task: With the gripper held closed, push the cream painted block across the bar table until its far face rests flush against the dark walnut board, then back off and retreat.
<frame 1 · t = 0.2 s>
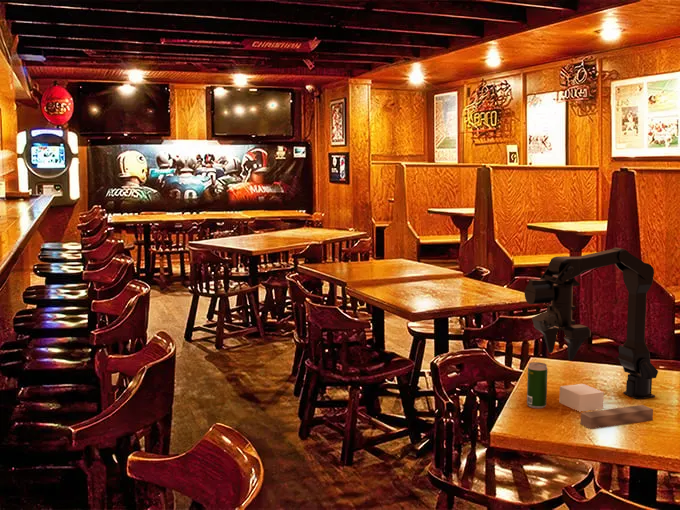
hand: (560, 356, 217), 14 cm above the table, fingers open, 9 cm apart
beer can: (536, 406, 217), on the table
board: (616, 422, 203), on the table
block: (580, 406, 217), on the table
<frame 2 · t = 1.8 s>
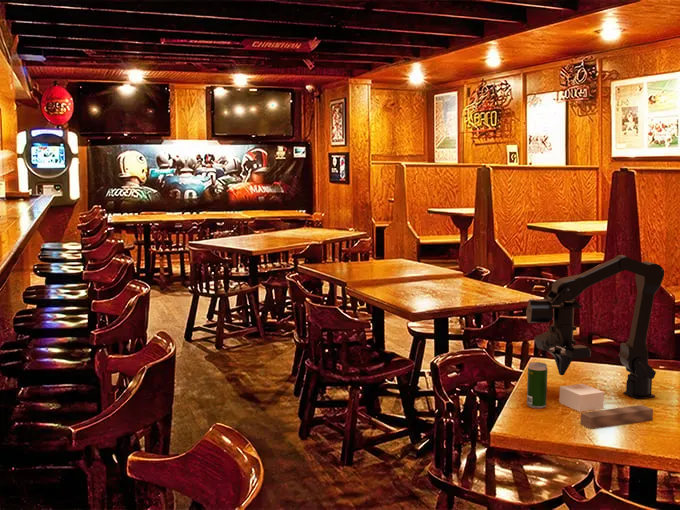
hand: (561, 374, 225), 6 cm above the table, fingers closed
nothing on the table moved.
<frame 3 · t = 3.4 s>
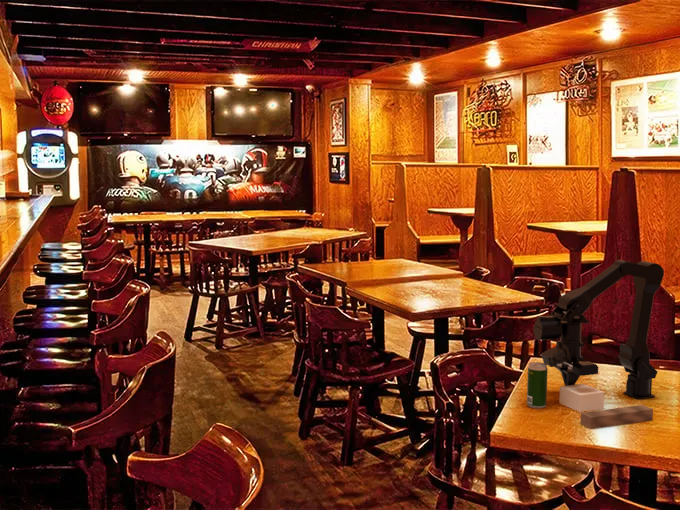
hand: (568, 391, 222), 2 cm above the table, fingers closed
block: (581, 406, 217), on the table, touching gripper
everything else where it was.
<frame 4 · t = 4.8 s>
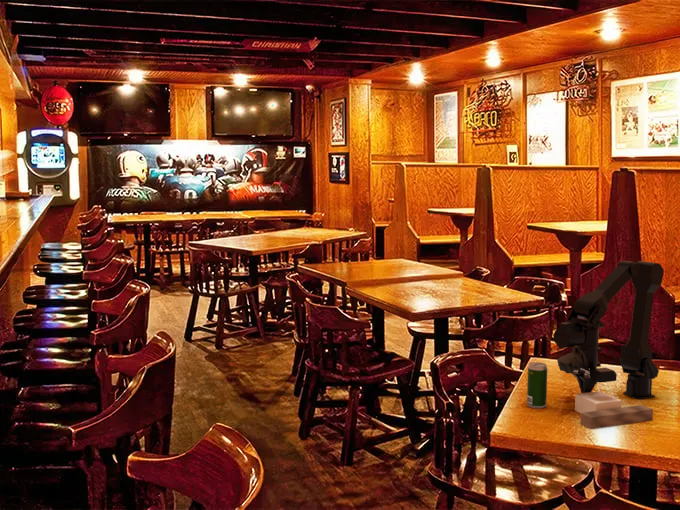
hand: (585, 398, 215), 3 cm above the table, fingers closed
block: (597, 414, 210), on the table
everything else where it was.
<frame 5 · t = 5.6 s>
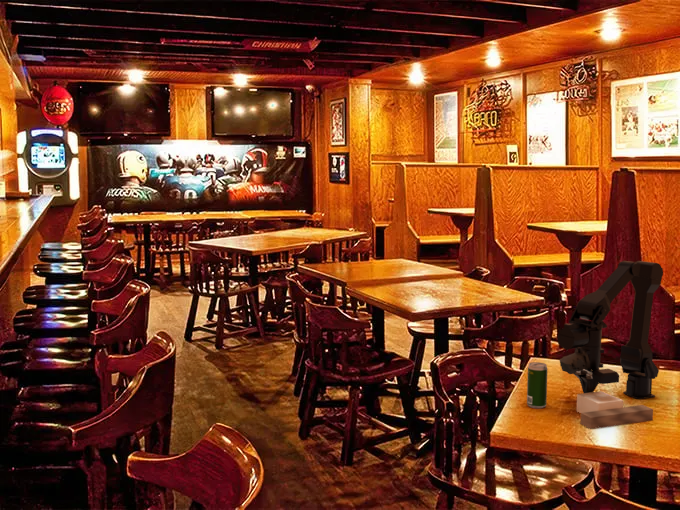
hand: (587, 399, 214), 3 cm above the table, fingers closed
block: (599, 415, 209), on the table, touching board, gripper
everything else where it was.
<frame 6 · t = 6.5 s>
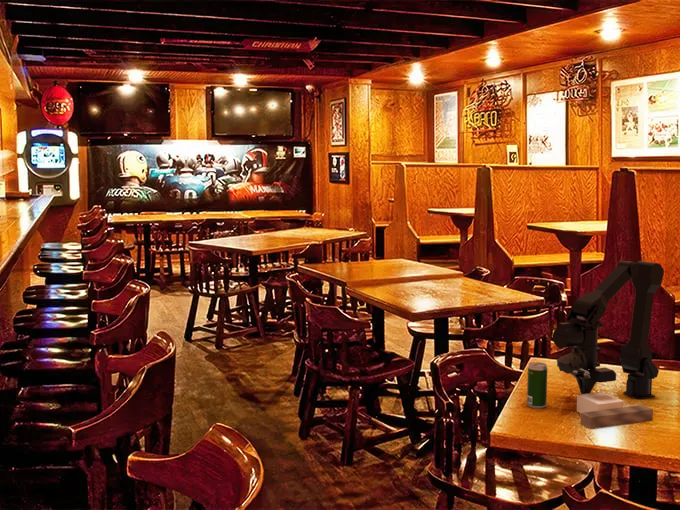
hand: (584, 398, 215), 2 cm above the table, fingers closed
block: (599, 415, 209), on the table
everything else where it was.
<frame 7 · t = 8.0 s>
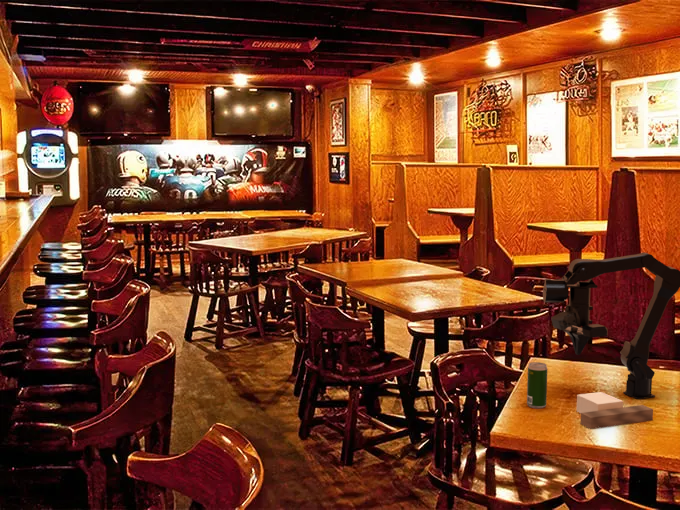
hand: (578, 354, 227), 12 cm above the table, fingers closed
nothing on the table moved.
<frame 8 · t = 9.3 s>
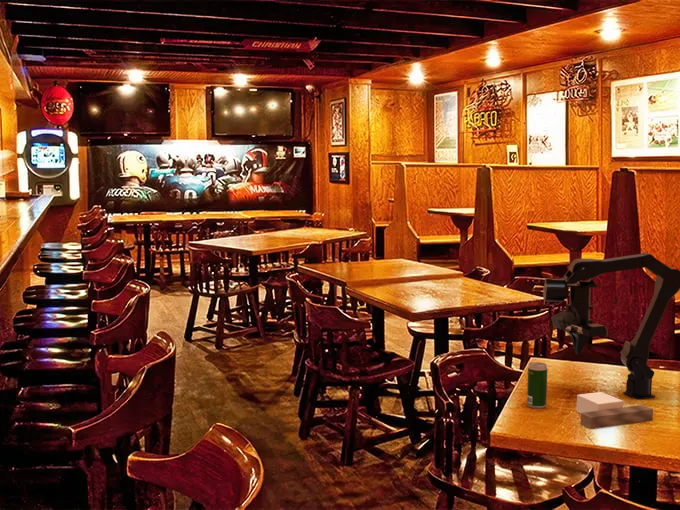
hand: (577, 354, 227), 12 cm above the table, fingers closed
nothing on the table moved.
at the end: block inside the target area on the table beside the board (0.5 cm from its centre), on the table; block tilted 0° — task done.
